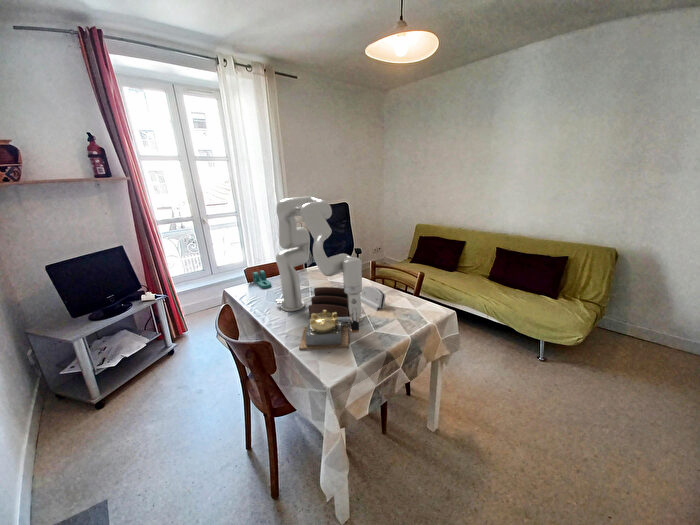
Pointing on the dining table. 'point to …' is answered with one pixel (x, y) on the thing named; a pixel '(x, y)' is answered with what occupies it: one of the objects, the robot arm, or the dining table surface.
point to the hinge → (373, 297)
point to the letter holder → (329, 301)
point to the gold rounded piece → (327, 321)
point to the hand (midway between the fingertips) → (355, 326)
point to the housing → (325, 338)
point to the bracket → (261, 280)
